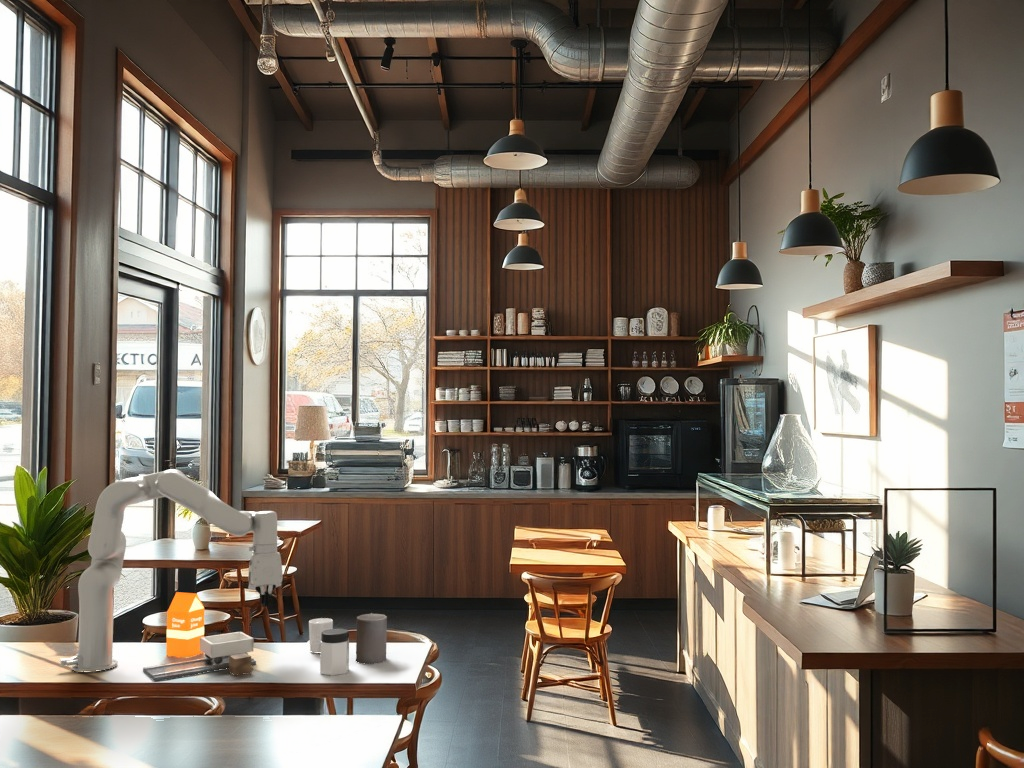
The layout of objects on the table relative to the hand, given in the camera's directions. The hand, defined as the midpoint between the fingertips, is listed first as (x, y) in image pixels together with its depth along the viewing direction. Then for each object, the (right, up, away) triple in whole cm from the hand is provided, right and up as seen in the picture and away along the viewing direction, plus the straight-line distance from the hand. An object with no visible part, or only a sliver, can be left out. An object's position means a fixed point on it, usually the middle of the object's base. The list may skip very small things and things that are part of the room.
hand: (265, 606), depth 270 cm
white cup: (+17, -17, +6) cm, 25 cm away
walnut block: (-2, -15, -19) cm, 24 cm away
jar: (+27, -15, -19) cm, 36 cm away
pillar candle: (+36, -16, -6) cm, 39 cm away
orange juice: (-27, -17, +3) cm, 32 cm away
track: (-16, -16, -13) cm, 26 cm away
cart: (-10, -14, -8) cm, 19 cm away
